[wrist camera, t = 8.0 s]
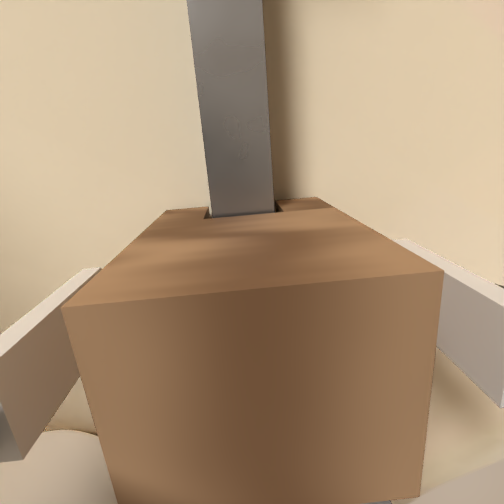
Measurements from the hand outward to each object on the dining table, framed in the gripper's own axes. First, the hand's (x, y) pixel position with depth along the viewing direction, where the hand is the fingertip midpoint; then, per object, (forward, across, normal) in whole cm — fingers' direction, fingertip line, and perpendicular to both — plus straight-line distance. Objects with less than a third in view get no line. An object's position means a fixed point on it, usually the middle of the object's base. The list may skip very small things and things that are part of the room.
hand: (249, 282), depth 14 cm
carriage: (+3, 0, 0) cm, 3 cm away
